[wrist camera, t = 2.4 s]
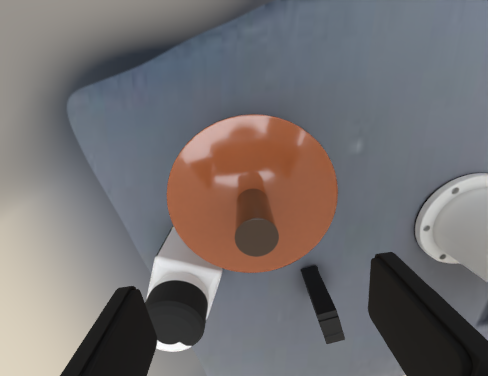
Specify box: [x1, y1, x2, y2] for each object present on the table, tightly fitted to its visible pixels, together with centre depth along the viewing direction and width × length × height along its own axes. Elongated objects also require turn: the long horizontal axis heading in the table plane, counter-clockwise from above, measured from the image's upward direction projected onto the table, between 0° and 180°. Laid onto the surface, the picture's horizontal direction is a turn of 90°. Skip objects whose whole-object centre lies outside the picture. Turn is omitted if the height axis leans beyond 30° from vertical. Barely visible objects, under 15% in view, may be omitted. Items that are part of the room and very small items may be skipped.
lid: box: [167, 114, 338, 273], centre depth 16 cm, size 13×13×6 cm
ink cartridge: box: [301, 266, 345, 344], centre depth 29 cm, size 5×2×8 cm, turn 19°
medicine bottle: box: [145, 226, 223, 352], centre depth 26 cm, size 7×7×12 cm
